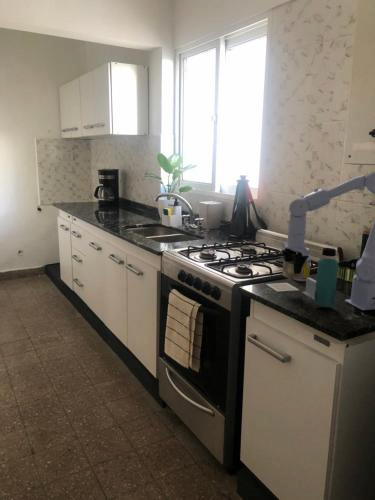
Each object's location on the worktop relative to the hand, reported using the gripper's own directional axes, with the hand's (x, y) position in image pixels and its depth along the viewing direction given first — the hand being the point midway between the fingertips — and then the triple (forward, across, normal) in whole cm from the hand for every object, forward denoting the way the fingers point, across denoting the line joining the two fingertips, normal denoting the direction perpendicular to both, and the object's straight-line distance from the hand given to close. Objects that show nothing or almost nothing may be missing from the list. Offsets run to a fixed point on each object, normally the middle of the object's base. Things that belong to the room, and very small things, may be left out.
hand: (293, 271), depth 149 cm
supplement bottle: (+9, -16, +14) cm, 23 cm away
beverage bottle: (+9, +15, +3) cm, 18 cm away
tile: (+8, -7, +1) cm, 11 cm away
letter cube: (+2, 0, 0) cm, 2 cm away
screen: (+8, +4, +6) cm, 11 cm away
